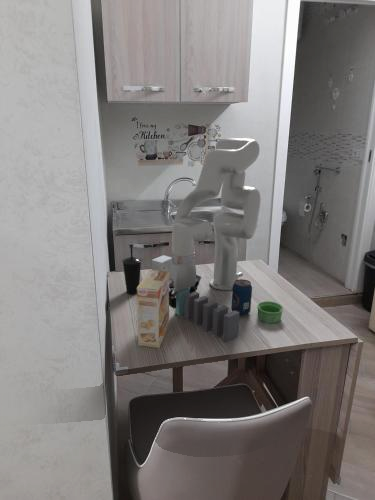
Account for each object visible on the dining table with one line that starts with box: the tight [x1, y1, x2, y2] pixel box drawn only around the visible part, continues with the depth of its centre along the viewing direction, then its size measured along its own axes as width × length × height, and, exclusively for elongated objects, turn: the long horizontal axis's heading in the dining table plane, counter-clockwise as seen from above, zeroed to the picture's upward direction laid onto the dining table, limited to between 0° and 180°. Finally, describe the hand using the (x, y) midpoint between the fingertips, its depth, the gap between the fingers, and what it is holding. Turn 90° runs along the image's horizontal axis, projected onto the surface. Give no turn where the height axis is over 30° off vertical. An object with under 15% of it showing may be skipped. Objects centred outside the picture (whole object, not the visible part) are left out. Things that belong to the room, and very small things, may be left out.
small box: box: [151, 254, 172, 272], centre depth 160 cm, size 8×6×10 cm
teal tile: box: [174, 288, 190, 316], centre depth 133 cm, size 5×2×9 cm, turn 132°
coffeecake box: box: [136, 269, 170, 349], centre depth 117 cm, size 15×7×20 cm, turn 171°
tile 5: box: [211, 304, 229, 338], centre depth 120 cm, size 5×2×9 cm, turn 132°
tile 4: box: [202, 299, 219, 332], centre depth 123 cm, size 5×2×9 cm, turn 132°
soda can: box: [230, 278, 253, 317], centre depth 133 cm, size 7×7×12 cm
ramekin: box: [256, 300, 284, 324], centre depth 131 cm, size 9×9×4 cm
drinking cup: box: [121, 244, 143, 295], centre depth 147 cm, size 8×8×20 cm
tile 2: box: [183, 290, 200, 321], centre depth 130 cm, size 5×2×9 cm, turn 132°
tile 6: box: [222, 310, 240, 344], centre depth 117 cm, size 5×2×9 cm, turn 132°
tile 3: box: [192, 295, 209, 326], centre depth 127 cm, size 5×2×9 cm, turn 132°
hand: (182, 303), depth 134 cm, fingers open, 8 cm apart
